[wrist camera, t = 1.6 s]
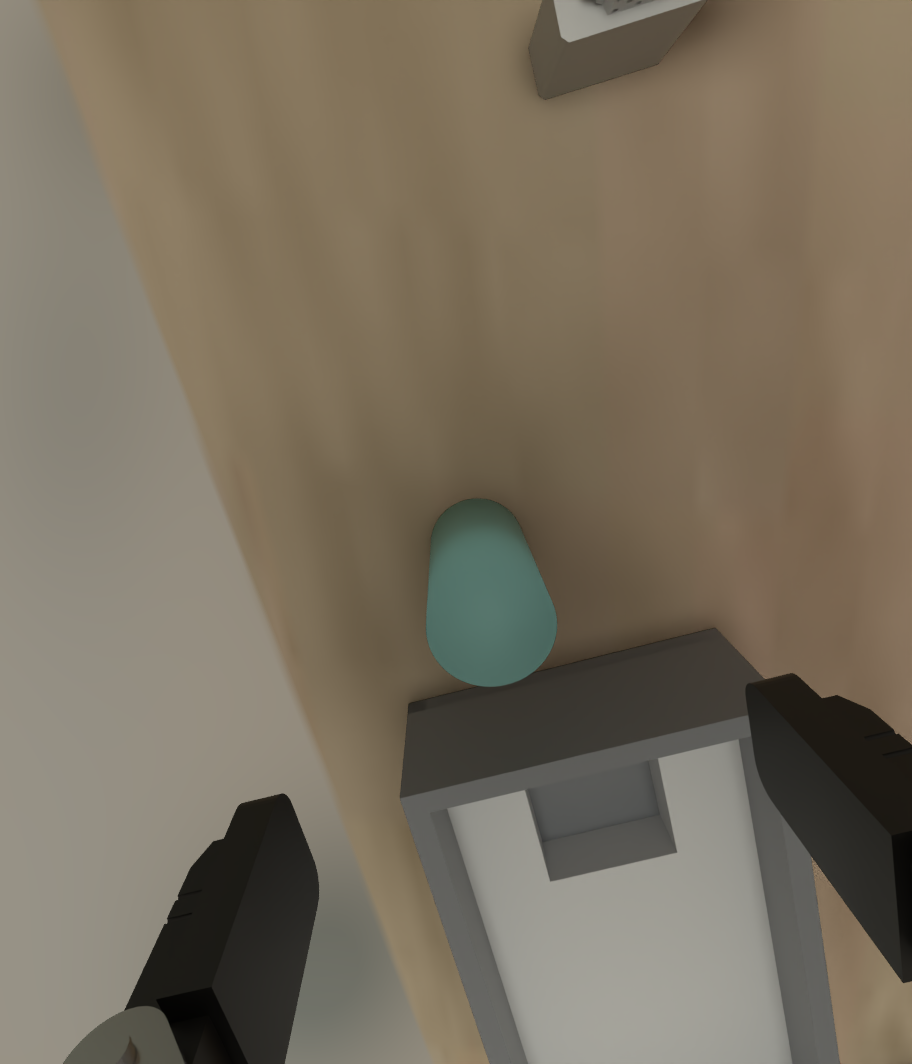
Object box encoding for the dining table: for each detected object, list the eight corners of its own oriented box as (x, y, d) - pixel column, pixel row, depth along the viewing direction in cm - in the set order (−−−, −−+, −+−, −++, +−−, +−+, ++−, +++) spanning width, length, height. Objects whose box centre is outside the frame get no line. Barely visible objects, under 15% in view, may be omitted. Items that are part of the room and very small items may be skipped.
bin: (715, 627, 27) (789, 705, 21) (781, 1021, 33) (854, 1165, 27) (408, 703, 28) (399, 798, 22) (527, 1076, 34) (545, 1228, 28)
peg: (541, 530, 26) (583, 609, 18) (489, 602, 26) (508, 708, 19) (463, 480, 25) (473, 540, 17) (413, 556, 26) (400, 645, 18)
